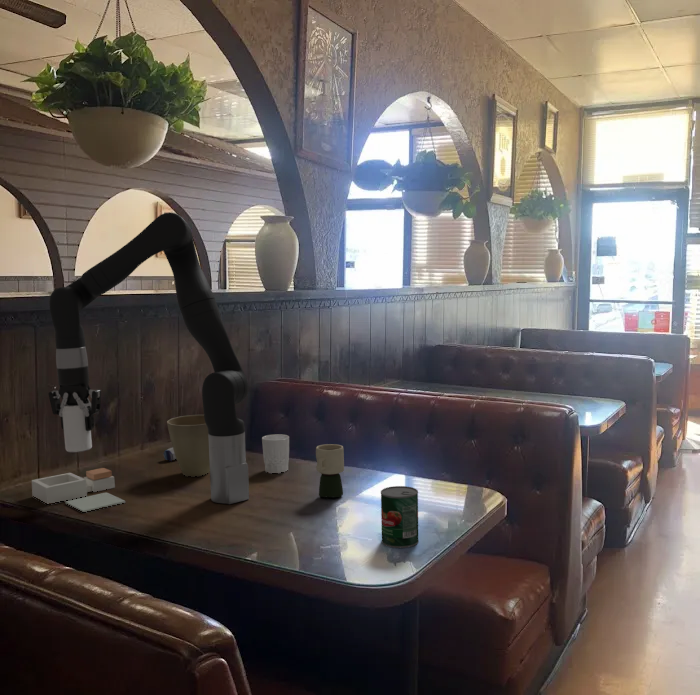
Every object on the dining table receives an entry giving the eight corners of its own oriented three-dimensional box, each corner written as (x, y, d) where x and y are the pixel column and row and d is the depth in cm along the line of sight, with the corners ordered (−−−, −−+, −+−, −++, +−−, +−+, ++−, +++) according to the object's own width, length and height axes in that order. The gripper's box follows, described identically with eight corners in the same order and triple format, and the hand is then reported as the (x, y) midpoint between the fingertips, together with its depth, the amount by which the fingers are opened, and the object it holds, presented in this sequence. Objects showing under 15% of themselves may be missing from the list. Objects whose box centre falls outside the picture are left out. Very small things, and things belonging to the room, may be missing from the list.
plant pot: (161, 473, 221) (158, 419, 219) (207, 464, 229) (205, 412, 228) (182, 483, 209) (180, 427, 207) (230, 474, 217) (228, 419, 216)
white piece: (118, 489, 205) (117, 473, 205) (47, 505, 192) (46, 487, 192) (102, 481, 213) (101, 466, 212) (32, 496, 200) (31, 480, 199)
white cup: (275, 475, 215) (274, 441, 214) (257, 471, 220) (256, 437, 219) (295, 470, 220) (294, 436, 219) (277, 465, 226) (276, 433, 225)
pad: (125, 503, 192) (125, 500, 192) (83, 513, 185) (83, 510, 185) (106, 494, 200) (106, 492, 200) (65, 503, 193) (65, 501, 193)
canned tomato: (374, 544, 159) (373, 493, 158) (392, 532, 166) (391, 484, 165) (408, 550, 155) (407, 498, 154) (425, 538, 162) (424, 488, 160)
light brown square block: (112, 487, 207) (111, 470, 206) (94, 490, 203) (93, 474, 203) (104, 483, 210) (103, 467, 210) (87, 487, 207) (86, 471, 206)
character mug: (329, 489, 200) (328, 441, 198) (353, 492, 196) (352, 443, 195) (308, 501, 190) (306, 450, 189) (332, 504, 187) (331, 453, 186)
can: (95, 449, 193) (91, 403, 192) (68, 454, 190) (64, 406, 188) (88, 445, 198) (84, 400, 197) (63, 449, 195) (59, 404, 194)
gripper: (105, 362, 194) (111, 427, 195) (56, 364, 197) (61, 427, 199) (89, 366, 187) (95, 433, 188) (38, 368, 190) (44, 433, 191)
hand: (78, 430), depth 193 cm, fingers closed on can, 6 cm apart
